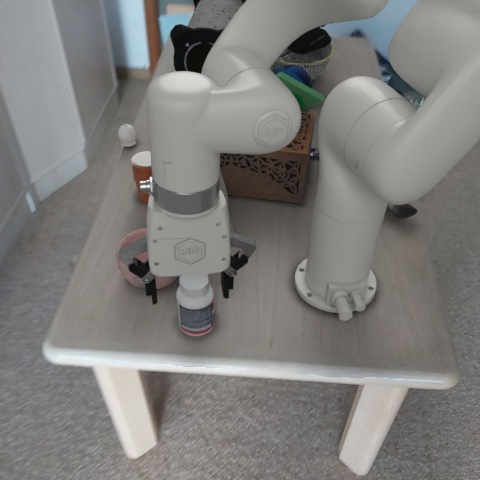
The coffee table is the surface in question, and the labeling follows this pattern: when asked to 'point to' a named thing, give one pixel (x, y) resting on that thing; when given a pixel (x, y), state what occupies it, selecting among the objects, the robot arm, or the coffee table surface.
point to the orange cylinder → (141, 172)
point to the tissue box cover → (272, 168)
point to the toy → (301, 92)
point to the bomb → (296, 74)
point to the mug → (142, 257)
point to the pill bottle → (195, 305)
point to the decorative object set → (127, 135)
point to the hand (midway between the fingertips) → (189, 294)
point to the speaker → (201, 32)
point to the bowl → (306, 60)
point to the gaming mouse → (309, 42)
